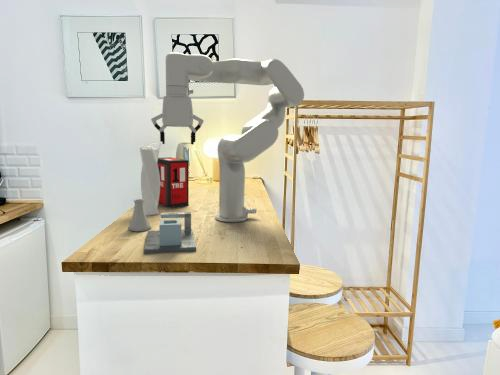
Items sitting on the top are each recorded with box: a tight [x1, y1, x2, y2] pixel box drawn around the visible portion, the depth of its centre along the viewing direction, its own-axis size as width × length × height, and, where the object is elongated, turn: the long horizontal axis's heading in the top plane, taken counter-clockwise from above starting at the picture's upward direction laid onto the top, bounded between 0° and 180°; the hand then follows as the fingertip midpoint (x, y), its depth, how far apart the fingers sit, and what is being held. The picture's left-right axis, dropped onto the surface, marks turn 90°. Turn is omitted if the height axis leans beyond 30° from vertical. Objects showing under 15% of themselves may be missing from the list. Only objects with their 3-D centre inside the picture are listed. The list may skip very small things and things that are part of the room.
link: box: [158, 218, 182, 246], centre depth 109 cm, size 17×6×6 cm, turn 13°
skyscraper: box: [139, 141, 162, 216], centre depth 141 cm, size 8×8×28 cm
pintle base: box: [143, 211, 197, 255], centre depth 107 cm, size 14×18×7 cm
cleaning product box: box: [157, 156, 190, 209], centre depth 160 cm, size 16×9×20 cm, turn 40°
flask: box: [127, 198, 152, 232], centre depth 120 cm, size 7×7×10 cm
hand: (178, 144), depth 123 cm, fingers open, 9 cm apart
